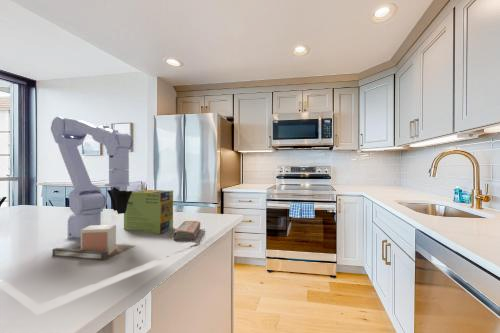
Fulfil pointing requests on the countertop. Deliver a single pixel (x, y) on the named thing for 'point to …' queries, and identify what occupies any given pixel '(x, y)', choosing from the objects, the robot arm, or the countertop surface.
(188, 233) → the packaged product
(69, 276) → the countertop surface
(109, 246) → the carton
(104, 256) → the shelf
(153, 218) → the protein box
